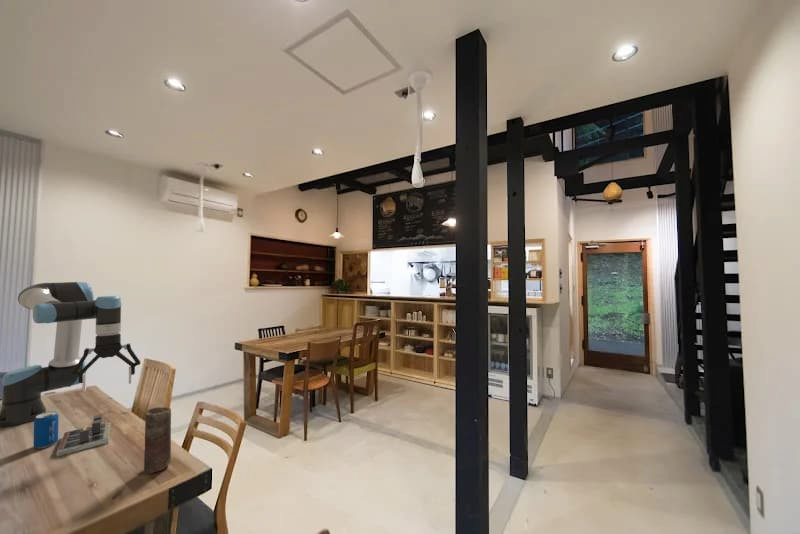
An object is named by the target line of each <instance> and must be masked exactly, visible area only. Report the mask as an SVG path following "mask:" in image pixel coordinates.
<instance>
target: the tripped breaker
mask: <svg viewBox="0 0 800 534" xmlns="http://www.w3.org/2000/svg"><path fill="white" fill-rule="evenodd" d="M90 427H91V426H87V427H83V428H80V429H81V430H80V442H84V441H88V440H89V428H90Z"/></svg>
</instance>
